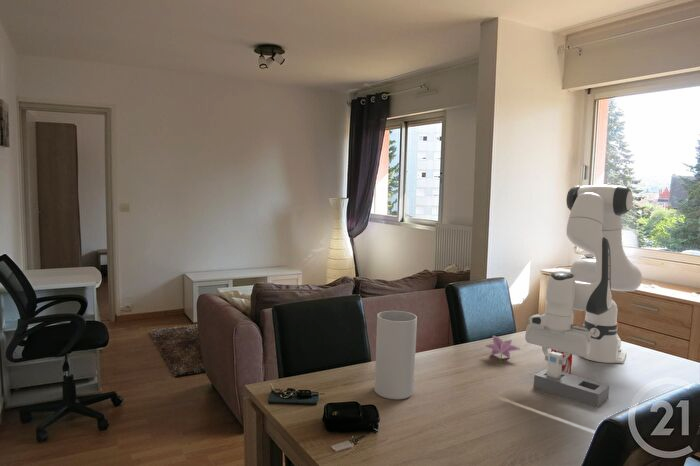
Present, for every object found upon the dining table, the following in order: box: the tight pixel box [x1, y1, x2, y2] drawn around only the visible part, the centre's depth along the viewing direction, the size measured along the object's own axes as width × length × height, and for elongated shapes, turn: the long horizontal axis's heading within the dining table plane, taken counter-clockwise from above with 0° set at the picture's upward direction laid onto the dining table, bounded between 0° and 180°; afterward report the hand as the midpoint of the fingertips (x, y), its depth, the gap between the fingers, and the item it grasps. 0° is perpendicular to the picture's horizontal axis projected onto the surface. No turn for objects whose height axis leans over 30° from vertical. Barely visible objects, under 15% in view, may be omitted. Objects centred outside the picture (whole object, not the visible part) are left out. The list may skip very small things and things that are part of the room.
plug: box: [546, 351, 563, 379], centre depth 162 cm, size 4×3×9 cm
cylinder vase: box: [374, 310, 418, 400], centre depth 156 cm, size 12×12×25 cm
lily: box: [484, 335, 521, 364], centre depth 189 cm, size 12×12×10 cm
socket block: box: [533, 367, 610, 409], centre depth 159 cm, size 10×20×5 cm, turn 45°
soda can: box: [550, 349, 573, 374], centre depth 176 cm, size 7×7×12 cm
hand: (555, 362), depth 162 cm, fingers closed on plug, 3 cm apart
